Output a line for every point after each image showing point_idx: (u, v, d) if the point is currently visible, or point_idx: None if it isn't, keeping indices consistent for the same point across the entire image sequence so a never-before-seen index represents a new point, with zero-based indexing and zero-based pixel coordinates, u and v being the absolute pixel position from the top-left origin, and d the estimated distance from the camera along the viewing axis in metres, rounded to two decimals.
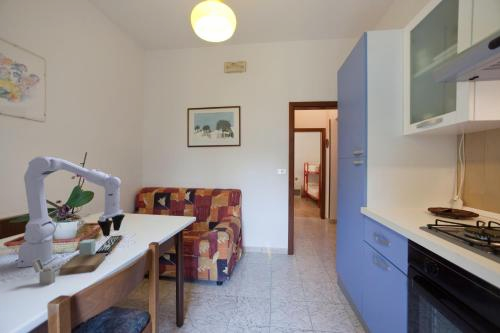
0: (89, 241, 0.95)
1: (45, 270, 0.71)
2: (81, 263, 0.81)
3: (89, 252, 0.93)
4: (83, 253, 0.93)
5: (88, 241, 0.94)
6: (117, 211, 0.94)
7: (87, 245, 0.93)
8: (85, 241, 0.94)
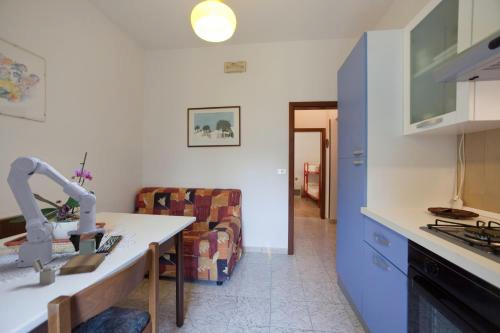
0: (89, 241, 0.95)
1: (45, 270, 0.71)
2: (81, 263, 0.81)
3: (89, 252, 0.93)
4: (83, 253, 0.93)
5: (88, 241, 0.94)
6: (83, 230, 0.92)
7: (87, 245, 0.93)
8: (85, 241, 0.94)
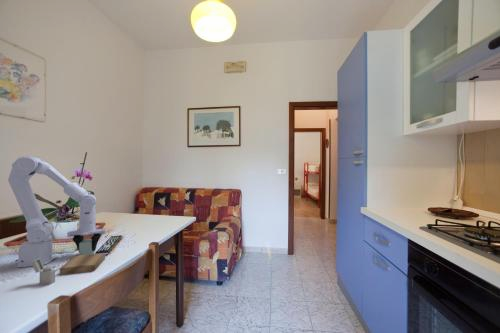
0: (89, 241, 0.95)
1: (45, 270, 0.71)
2: (81, 263, 0.81)
3: (89, 252, 0.93)
4: (83, 253, 0.93)
5: (88, 241, 0.94)
6: (83, 230, 0.92)
7: (87, 245, 0.93)
8: (85, 241, 0.94)
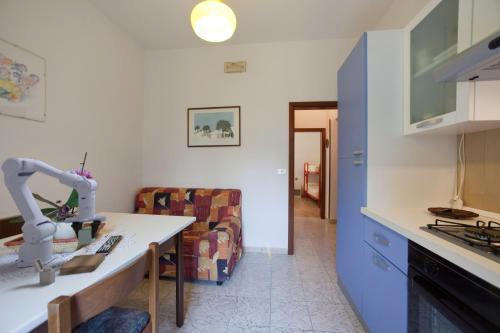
0: (89, 229, 0.90)
1: (45, 270, 0.71)
2: (81, 263, 0.81)
3: (89, 240, 0.89)
4: (82, 241, 0.88)
5: (88, 229, 0.90)
6: (82, 217, 0.87)
7: (87, 233, 0.88)
8: (84, 229, 0.90)
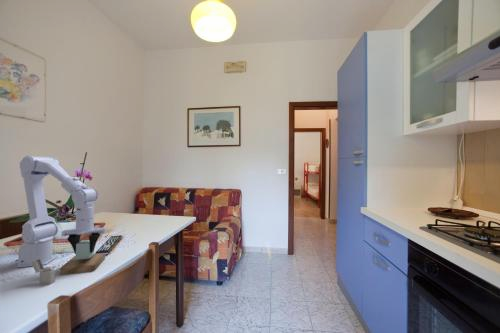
0: (87, 242, 0.84)
1: (45, 270, 0.71)
2: (81, 263, 0.81)
3: (87, 254, 0.83)
4: (80, 255, 0.82)
5: (86, 242, 0.84)
6: (79, 229, 0.81)
7: (85, 247, 0.82)
8: (83, 242, 0.84)
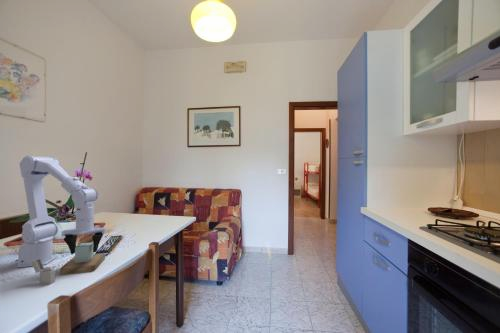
0: (86, 245, 0.84)
1: (45, 270, 0.71)
2: (81, 263, 0.81)
3: (86, 257, 0.82)
4: (80, 259, 0.82)
5: (85, 245, 0.84)
6: (79, 229, 0.81)
7: (84, 250, 0.82)
8: (82, 245, 0.84)
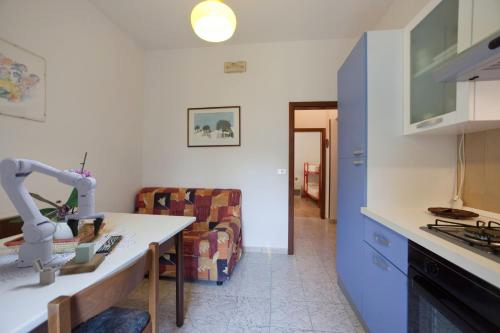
0: (87, 245, 0.84)
1: (45, 270, 0.71)
2: (81, 264, 0.81)
3: (87, 258, 0.82)
4: (80, 259, 0.82)
5: (86, 245, 0.84)
6: (81, 214, 0.88)
7: (85, 250, 0.82)
8: (82, 245, 0.83)
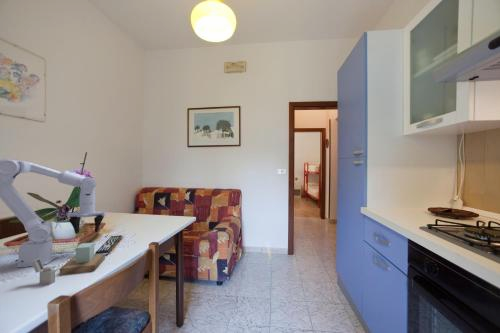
0: (87, 245, 0.83)
1: (45, 270, 0.71)
2: (81, 264, 0.81)
3: (87, 258, 0.82)
4: (80, 259, 0.82)
5: (86, 245, 0.83)
6: (82, 212, 0.94)
7: (85, 250, 0.82)
8: (83, 245, 0.83)
